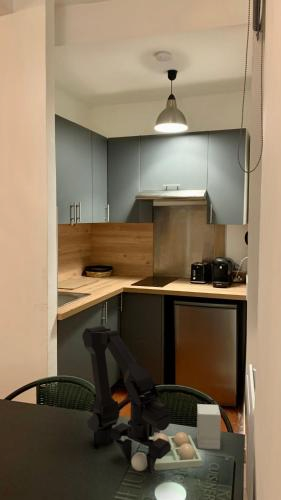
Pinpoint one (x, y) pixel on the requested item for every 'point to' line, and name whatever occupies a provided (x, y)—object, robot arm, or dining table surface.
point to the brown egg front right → (186, 452)
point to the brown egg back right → (181, 439)
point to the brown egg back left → (161, 437)
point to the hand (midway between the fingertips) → (139, 467)
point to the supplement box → (208, 426)
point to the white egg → (139, 461)
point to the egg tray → (177, 458)
